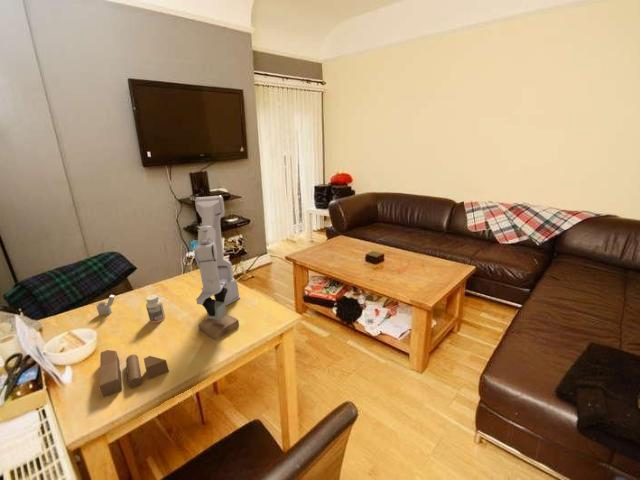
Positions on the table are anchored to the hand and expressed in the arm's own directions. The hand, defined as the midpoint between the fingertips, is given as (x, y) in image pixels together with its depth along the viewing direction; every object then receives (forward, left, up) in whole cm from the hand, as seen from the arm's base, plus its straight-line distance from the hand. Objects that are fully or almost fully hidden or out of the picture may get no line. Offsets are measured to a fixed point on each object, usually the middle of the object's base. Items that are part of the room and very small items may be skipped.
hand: (216, 311), depth 113 cm
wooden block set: (+28, -5, -8) cm, 29 cm away
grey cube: (0, 0, -2) cm, 2 cm away
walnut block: (0, 0, -7) cm, 7 cm away
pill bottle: (+10, -25, -7) cm, 28 cm away
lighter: (+19, -46, -7) cm, 50 cm away
